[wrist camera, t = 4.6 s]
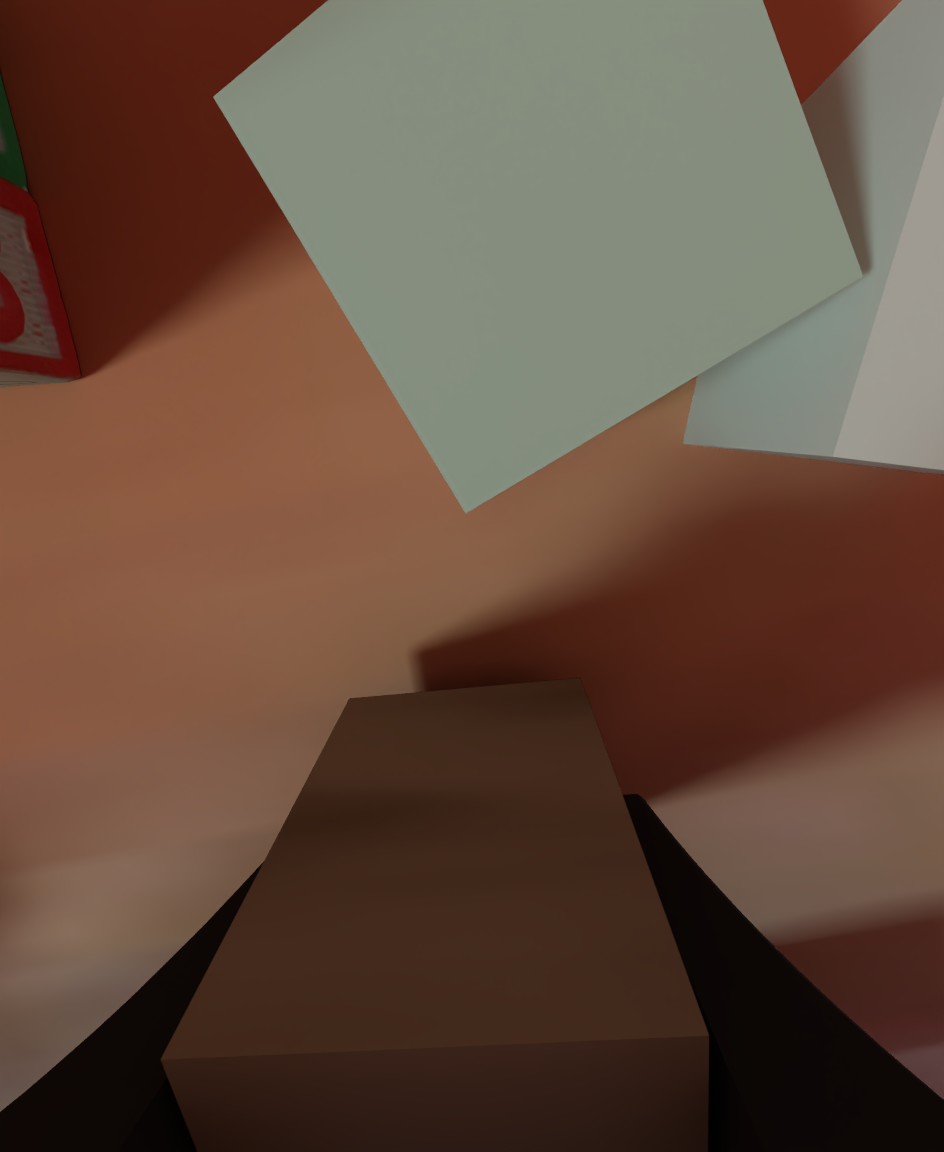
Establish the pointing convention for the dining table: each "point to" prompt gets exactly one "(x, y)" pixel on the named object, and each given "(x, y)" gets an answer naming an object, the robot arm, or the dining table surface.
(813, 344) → the white block
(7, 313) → the stack of blocks
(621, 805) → the walnut bar
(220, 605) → the dining table surface
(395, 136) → the sage block
